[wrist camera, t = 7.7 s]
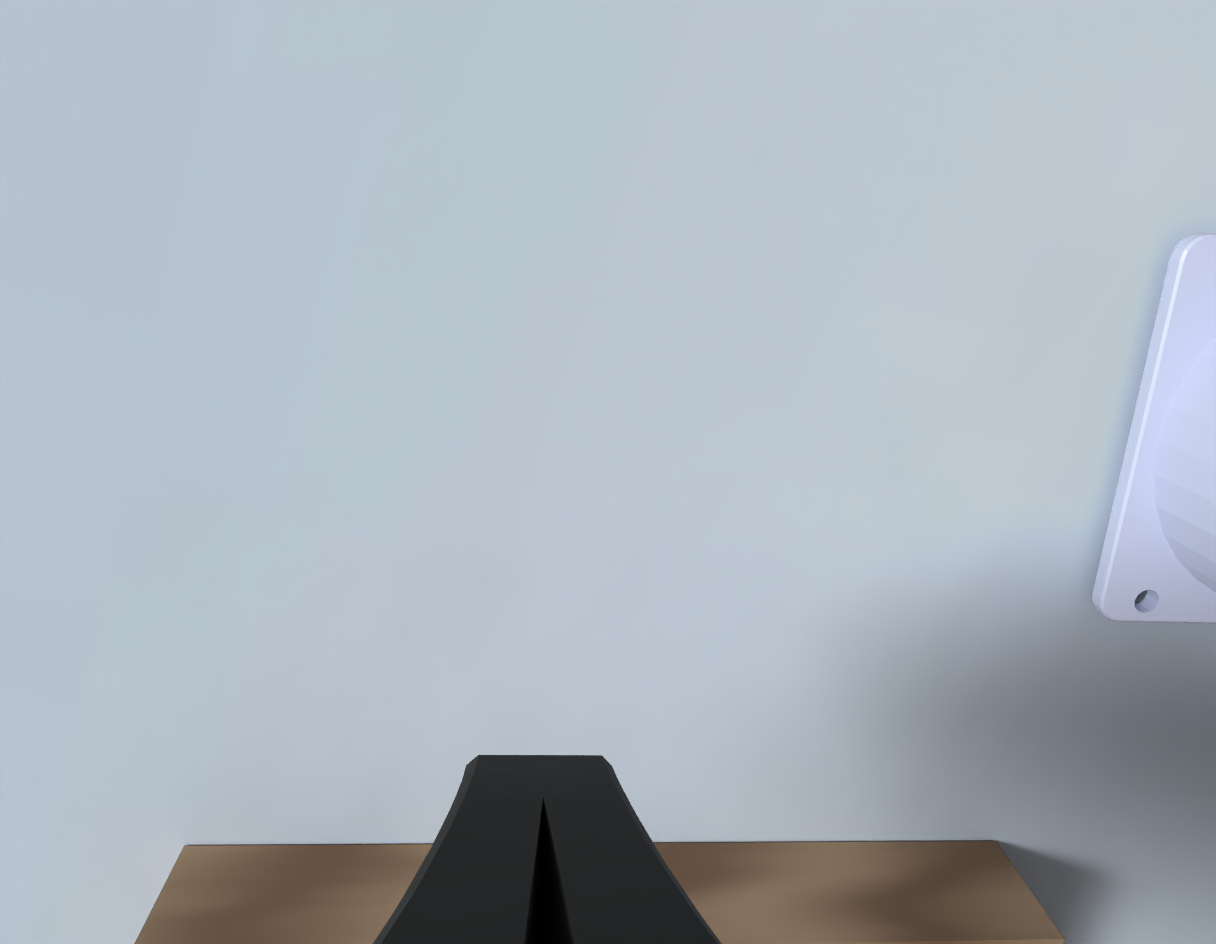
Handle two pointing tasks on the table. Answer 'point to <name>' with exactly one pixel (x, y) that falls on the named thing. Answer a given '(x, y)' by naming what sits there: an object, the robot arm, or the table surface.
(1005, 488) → the table surface
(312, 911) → the brown wooden tray
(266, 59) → the table surface
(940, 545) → the table surface
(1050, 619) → the table surface
